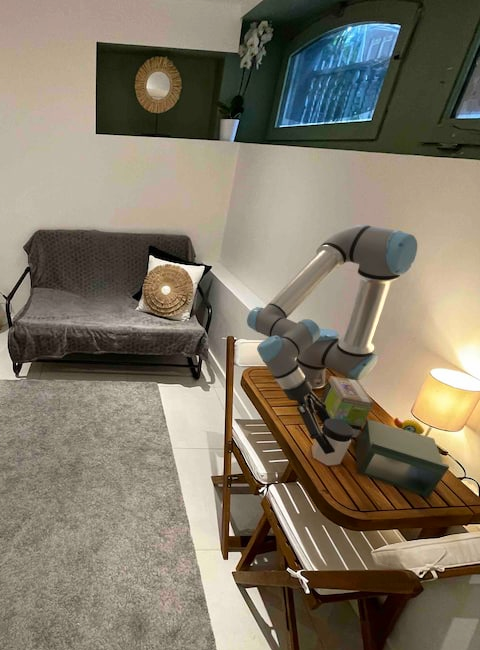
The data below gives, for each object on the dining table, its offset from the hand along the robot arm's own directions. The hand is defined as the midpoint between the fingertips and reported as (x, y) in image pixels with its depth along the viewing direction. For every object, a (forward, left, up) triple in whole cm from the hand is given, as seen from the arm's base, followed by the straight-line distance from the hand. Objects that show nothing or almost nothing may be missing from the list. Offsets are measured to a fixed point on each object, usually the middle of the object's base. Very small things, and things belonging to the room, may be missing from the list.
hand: (330, 439), depth 115 cm
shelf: (-5, +19, -7) cm, 20 cm away
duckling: (-20, +25, -7) cm, 33 cm away
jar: (0, +1, -7) cm, 7 cm away
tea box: (-22, +4, -7) cm, 24 cm away
